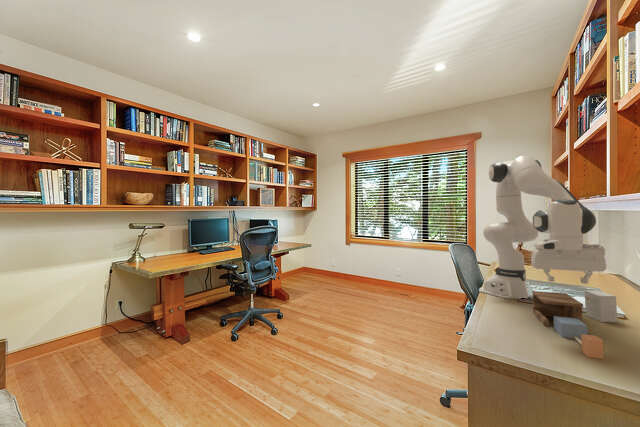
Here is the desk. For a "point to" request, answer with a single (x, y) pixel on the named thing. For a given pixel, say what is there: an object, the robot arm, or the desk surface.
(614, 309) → the small box
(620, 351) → the desk surface
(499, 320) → the desk surface
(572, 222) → the robot arm
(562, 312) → the shelf
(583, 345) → the cube on a stick
